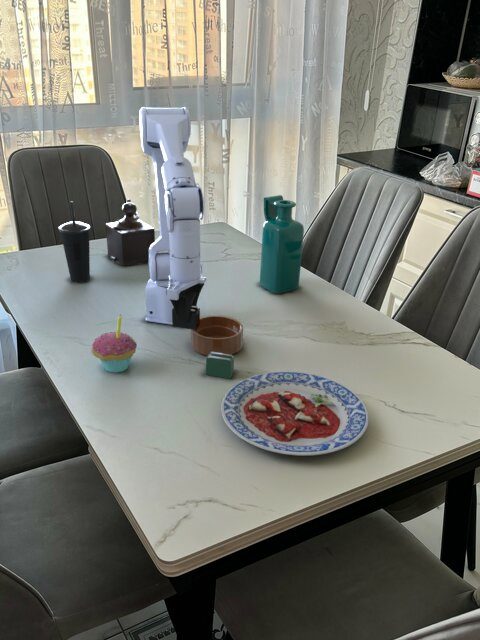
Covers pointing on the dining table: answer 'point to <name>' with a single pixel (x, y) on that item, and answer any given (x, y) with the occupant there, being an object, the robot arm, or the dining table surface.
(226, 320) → the bowl
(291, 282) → the teal green bottle
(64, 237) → the drinking cup
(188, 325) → the black clip
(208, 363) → the green clip
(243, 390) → the ceramic plate
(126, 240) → the dark brown knobbed box
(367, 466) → the dining table surface
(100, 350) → the cupcake
